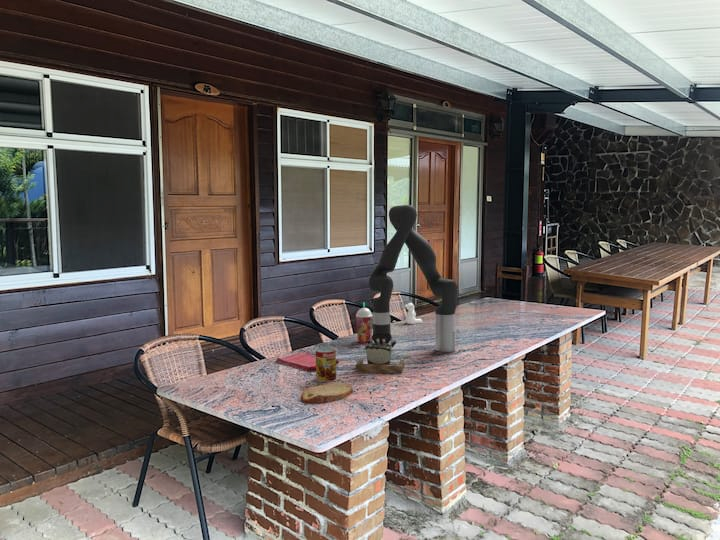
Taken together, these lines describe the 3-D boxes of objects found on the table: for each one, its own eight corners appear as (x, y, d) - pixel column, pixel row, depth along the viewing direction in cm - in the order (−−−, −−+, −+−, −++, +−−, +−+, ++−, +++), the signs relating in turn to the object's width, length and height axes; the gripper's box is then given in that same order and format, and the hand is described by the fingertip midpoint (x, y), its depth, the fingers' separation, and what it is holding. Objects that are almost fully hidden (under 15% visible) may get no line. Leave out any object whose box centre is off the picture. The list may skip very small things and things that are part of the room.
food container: (397, 366, 253) (396, 343, 251) (392, 370, 247) (391, 347, 246) (370, 363, 258) (369, 340, 256) (364, 367, 252) (364, 344, 250)
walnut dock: (404, 367, 252) (404, 360, 252) (401, 373, 243) (401, 366, 243) (359, 365, 256) (359, 358, 256) (355, 371, 247) (355, 364, 246)
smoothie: (375, 341, 299) (375, 301, 297) (368, 344, 291) (368, 304, 289) (360, 339, 302) (359, 300, 300) (353, 343, 295) (352, 303, 293)
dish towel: (311, 373, 247) (311, 367, 247) (274, 363, 263) (274, 357, 263) (340, 364, 259) (340, 358, 259) (304, 355, 276) (304, 350, 275)
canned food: (328, 383, 232) (328, 352, 230) (312, 380, 236) (311, 350, 235) (340, 377, 239) (339, 348, 237) (323, 375, 243) (323, 346, 241)
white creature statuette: (422, 322, 341) (422, 301, 340) (415, 325, 334) (415, 304, 333) (408, 321, 346) (408, 300, 345) (400, 323, 339) (400, 302, 338)
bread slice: (353, 388, 226) (353, 378, 226) (349, 404, 208) (349, 394, 208) (306, 388, 227) (306, 378, 227) (298, 404, 209) (298, 394, 209)
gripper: (398, 320, 255) (398, 360, 257) (367, 319, 258) (368, 359, 260) (395, 324, 248) (396, 365, 250) (364, 323, 250) (365, 364, 253)
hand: (382, 362), depth 255 cm, fingers closed
